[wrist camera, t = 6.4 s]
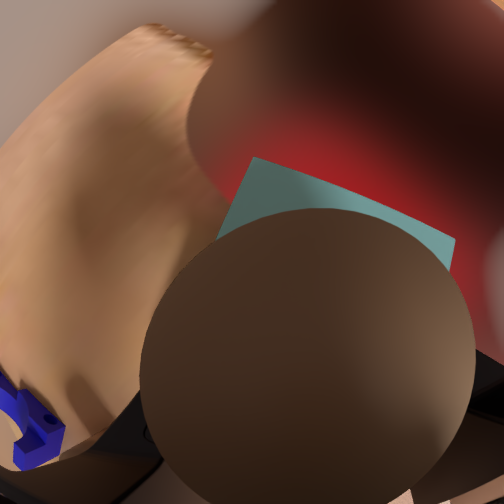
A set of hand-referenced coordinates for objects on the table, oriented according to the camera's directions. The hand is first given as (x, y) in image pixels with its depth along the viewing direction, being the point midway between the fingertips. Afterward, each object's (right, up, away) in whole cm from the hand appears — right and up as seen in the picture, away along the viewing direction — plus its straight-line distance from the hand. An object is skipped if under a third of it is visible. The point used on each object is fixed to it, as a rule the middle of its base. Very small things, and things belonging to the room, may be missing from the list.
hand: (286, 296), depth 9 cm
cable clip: (-25, -14, +11) cm, 31 cm away
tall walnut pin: (+1, -3, +6) cm, 7 cm away
